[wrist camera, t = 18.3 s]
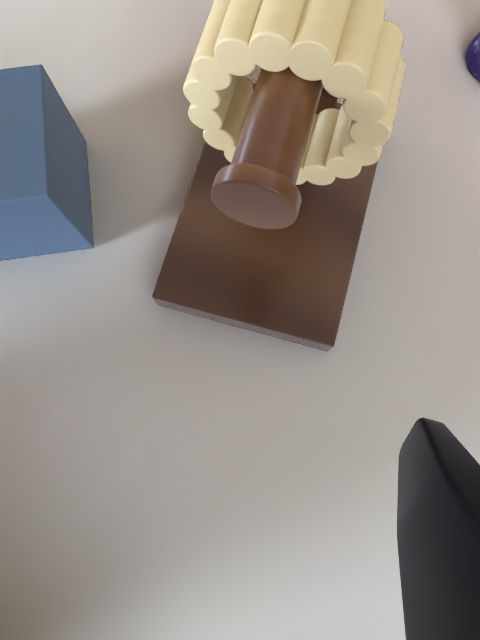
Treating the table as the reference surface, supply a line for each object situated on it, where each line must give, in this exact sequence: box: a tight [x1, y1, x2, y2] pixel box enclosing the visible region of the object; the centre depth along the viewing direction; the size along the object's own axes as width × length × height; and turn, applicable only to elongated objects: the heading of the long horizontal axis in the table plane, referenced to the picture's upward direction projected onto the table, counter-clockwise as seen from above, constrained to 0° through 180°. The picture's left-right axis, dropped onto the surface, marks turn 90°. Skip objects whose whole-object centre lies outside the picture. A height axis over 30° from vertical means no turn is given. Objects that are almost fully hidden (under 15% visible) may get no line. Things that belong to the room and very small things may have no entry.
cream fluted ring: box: [183, 0, 406, 185], centre depth 15 cm, size 3×7×7 cm, turn 74°
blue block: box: [0, 65, 94, 260], centre depth 21 cm, size 6×6×6 cm
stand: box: [152, 67, 378, 351], centre depth 17 cm, size 13×9×13 cm
